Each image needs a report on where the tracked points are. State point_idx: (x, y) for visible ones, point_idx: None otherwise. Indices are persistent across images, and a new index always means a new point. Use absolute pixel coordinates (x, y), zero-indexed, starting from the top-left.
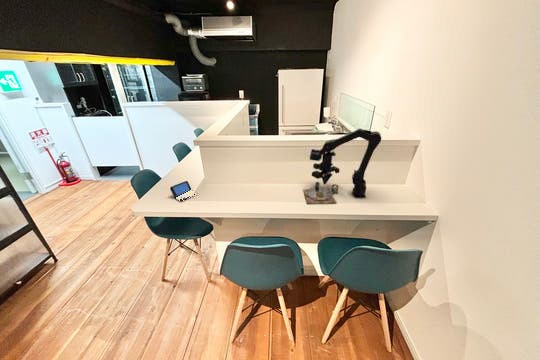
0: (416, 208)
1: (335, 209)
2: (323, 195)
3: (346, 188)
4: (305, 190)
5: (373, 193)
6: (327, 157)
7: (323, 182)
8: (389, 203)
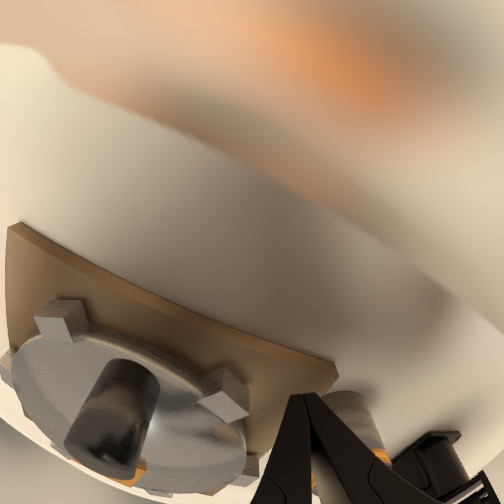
0: None
1: (173, 496)
2: (136, 478)
3: (471, 374)
4: (21, 272)
5: (477, 436)
6: None
7: (281, 427)
8: None
